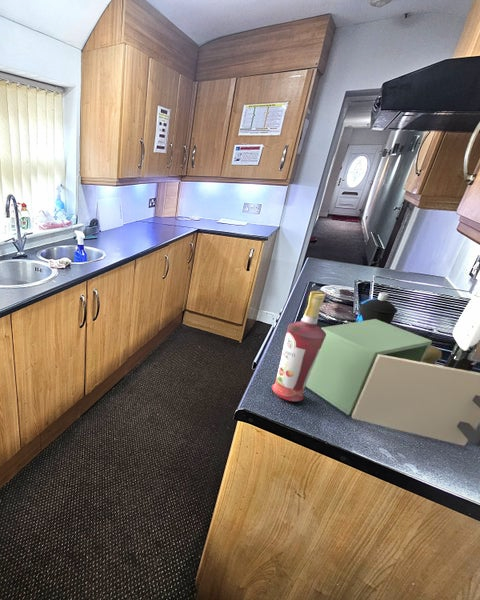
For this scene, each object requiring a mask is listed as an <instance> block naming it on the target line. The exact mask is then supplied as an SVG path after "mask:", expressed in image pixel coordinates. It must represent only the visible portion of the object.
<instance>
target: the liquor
mask: <svg viewBox="0 0 480 600" xmlns="http://www.w3.org/2000/svg"><path fill="white" fill-rule="evenodd" d="M325 297H326V293H325V292H323V291H320V290H311V291H310V293H309V296H308V304H307V307H306V309H305V311H304V314H303V316H302V318H301V321H293V322H291V323H289V324H288V325H287V328H286V334H285V337H284V342H283V347H282V351H281V357H280V361H279V364H278V365H279V366H278V371H277V374H276V379H275V381H274V384H272V385H271V390H272V391H273V393H274V394H275V395H276V397H278V398H279V399H281V400H282V401H284V402H287V403H288V402H290V403H293V402H300V401H302V400H304V398H305V395H304V391H305V388H306V386H305V385H306V383H307V380H308V378H309V375H310V373H311V370H312V368H313V365H314V363H315V361H316V359H317V356H318V354H319V352H320V349H321V346H322V344H323V341H324V339H325V337H326V333H325V332H324V331H323V329H322V328H323V327H320V326H319V325H318V320H319V315H320V310H321V306H322V305H323V303H324V300H325Z"/></svg>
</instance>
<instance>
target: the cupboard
mask: <svg viewBox="0 0 480 600" xmlns="http://www.w3.org/2000/svg"><path fill="white" fill-rule="evenodd" d="M321 328H322V329H323V331H324V332H325V333H326V337H325V339H324V341H323V344H322V346H321V349H320V352H319V354H318V356H317V359H316V361H315V363H314V365H313V368H312V370H311V373H310V375H309V378H308V380H307V383H306V385H305V388H308V389H309V390H310V391H312V392H313V393H315V394H317V395H318V396H319V397H321V398H322V399H324V400H325V401H327V402H328V403H329V404H331V405H333V406H334V407H336V408H337V409H339V410H340V411H341V412H343V413H344V414H346V415H347V416H350V415H351V416H352V413H353V411H354V409H355V406H356V404H357V402H358V399H359V397H360V395H361V392H362V390H363V388H364V385H365V383H366V381H367V378H368V376H369V374H370V371H371V369H372V366H373V364H374V362H375V359H376V357H377V355H378V354H380V355H386V356H391V357H396V358H402V359H407V360H412V361H418V362H422V361H423V359H424V357H425V355H426V353H427V351H428V349H429V347H430V345H431V346H432V342H433V340H431V339H429V338H426V337H424V336H421V335H418V334H416V333H414V332H411V331H408V330H405V329H403V328H401V327H397V326H395V325H392V324H387V323H385V322H382V321H379V320H377V319H372V320H366V321H360V322H355V321H354V322H348V323H342V324H336V325H330V326H323V327H321Z"/></svg>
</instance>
